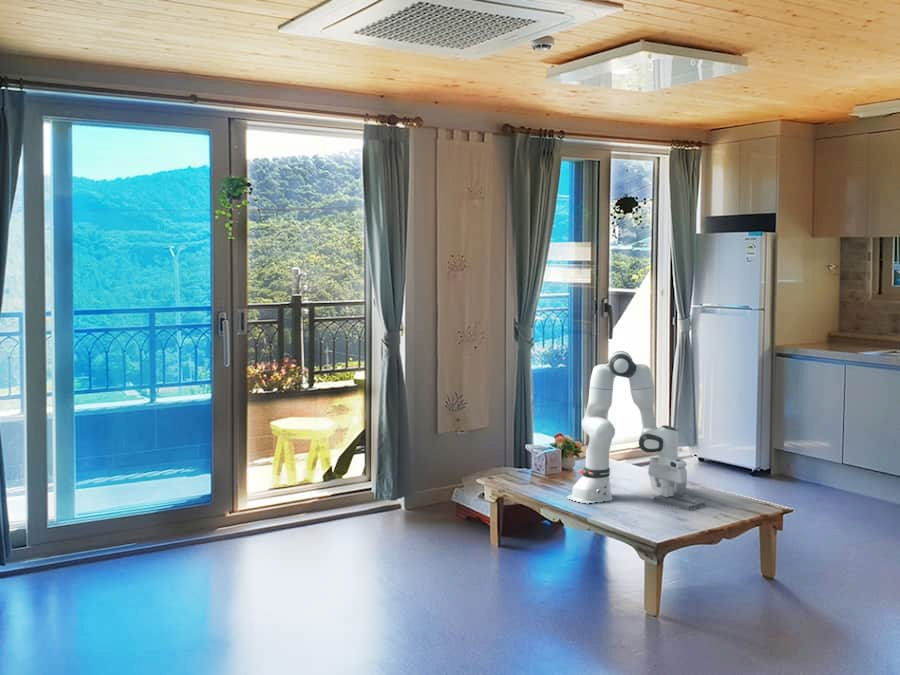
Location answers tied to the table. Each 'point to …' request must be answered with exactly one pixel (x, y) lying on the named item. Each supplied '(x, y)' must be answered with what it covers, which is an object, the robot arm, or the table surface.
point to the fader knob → (667, 491)
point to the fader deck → (679, 501)
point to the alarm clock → (664, 483)
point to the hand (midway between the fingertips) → (666, 489)
